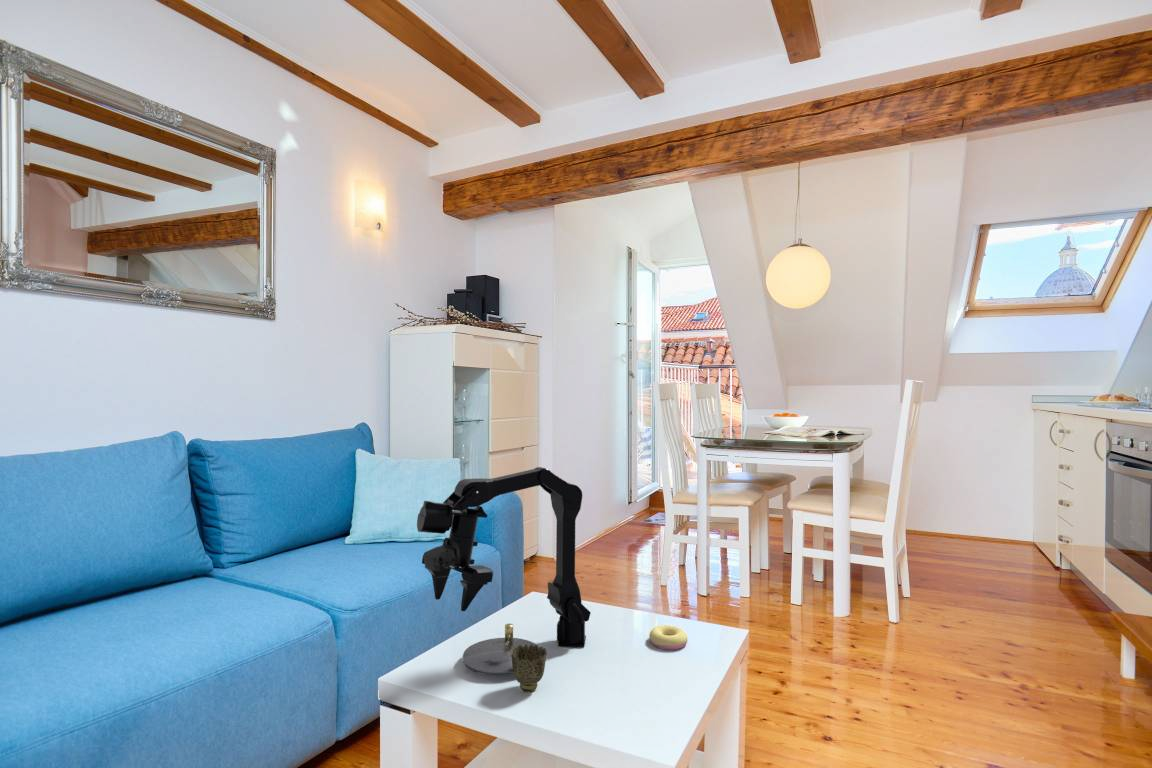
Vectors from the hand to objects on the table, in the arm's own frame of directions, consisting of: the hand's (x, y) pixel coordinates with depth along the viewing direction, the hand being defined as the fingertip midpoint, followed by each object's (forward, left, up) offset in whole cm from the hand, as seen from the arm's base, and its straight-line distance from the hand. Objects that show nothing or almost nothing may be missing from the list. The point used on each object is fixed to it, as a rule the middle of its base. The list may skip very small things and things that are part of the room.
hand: (450, 605), depth 135 cm
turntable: (-11, -4, -13) cm, 18 cm away
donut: (-50, -19, -15) cm, 56 cm away
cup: (-19, +8, -15) cm, 25 cm away
